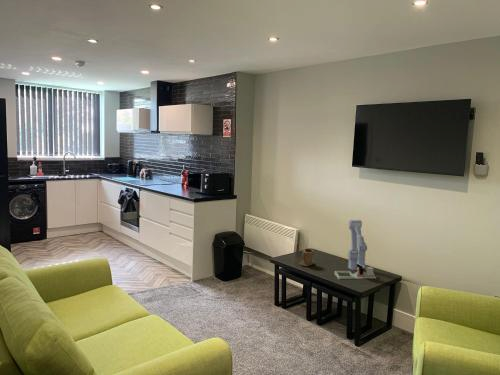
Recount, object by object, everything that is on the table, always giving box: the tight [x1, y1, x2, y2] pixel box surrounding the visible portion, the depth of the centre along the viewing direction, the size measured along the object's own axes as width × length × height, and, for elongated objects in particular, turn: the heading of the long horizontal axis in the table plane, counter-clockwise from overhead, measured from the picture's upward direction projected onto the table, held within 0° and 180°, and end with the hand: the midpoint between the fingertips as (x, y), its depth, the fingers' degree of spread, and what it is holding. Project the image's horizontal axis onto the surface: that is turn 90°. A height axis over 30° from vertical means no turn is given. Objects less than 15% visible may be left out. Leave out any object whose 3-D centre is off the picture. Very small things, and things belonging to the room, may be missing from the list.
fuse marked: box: [356, 267, 365, 277], centre depth 318 cm, size 3×5×7 cm, turn 93°
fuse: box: [365, 266, 374, 277], centre depth 318 cm, size 3×5×7 cm, turn 93°
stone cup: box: [298, 248, 316, 267], centre depth 345 cm, size 15×12×15 cm
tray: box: [334, 270, 356, 281], centre depth 318 cm, size 13×13×3 cm
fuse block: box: [352, 271, 377, 279], centre depth 319 cm, size 10×18×4 cm, turn 93°
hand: (360, 273), depth 318 cm, fingers closed on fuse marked, 3 cm apart
